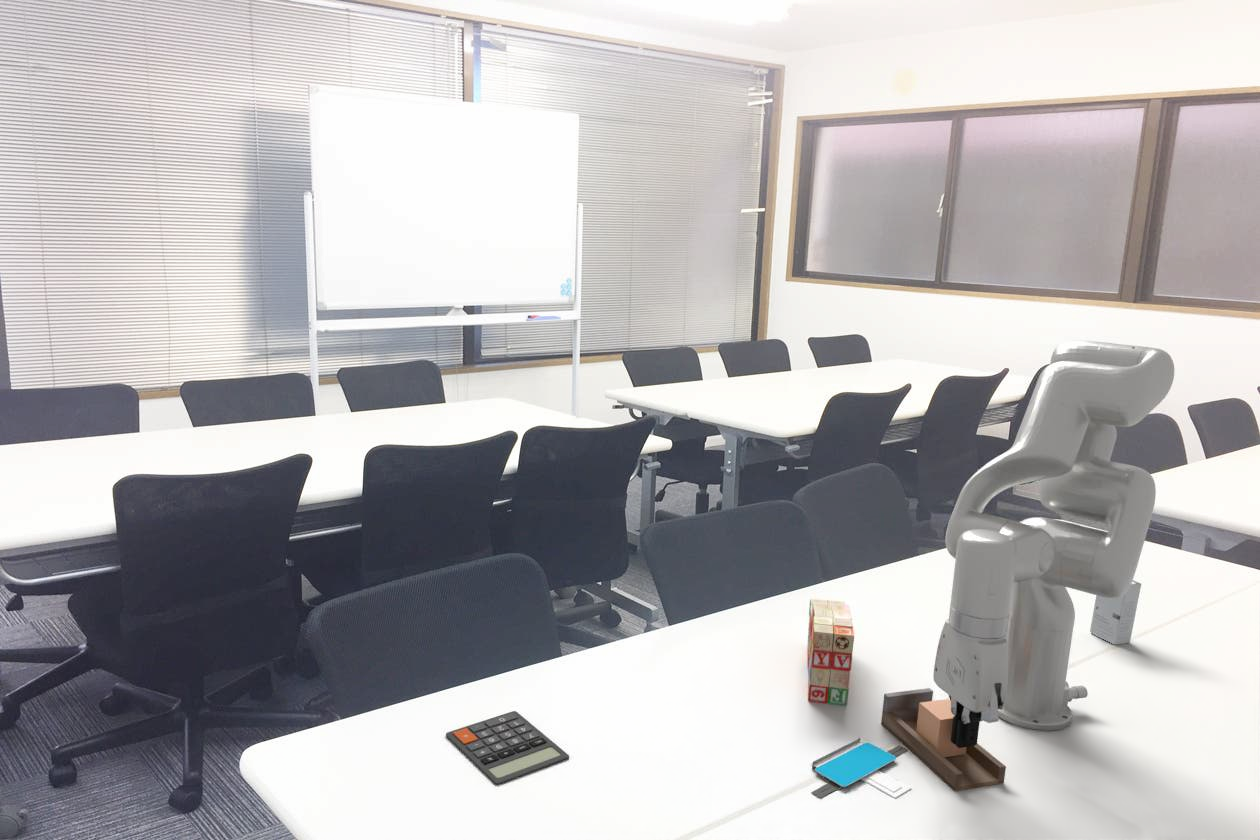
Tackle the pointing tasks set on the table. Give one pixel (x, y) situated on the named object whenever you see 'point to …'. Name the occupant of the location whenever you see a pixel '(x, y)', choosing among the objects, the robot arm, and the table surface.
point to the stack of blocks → (829, 651)
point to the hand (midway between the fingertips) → (963, 743)
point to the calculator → (506, 747)
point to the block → (938, 727)
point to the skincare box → (1116, 616)
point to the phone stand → (858, 768)
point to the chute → (952, 770)
